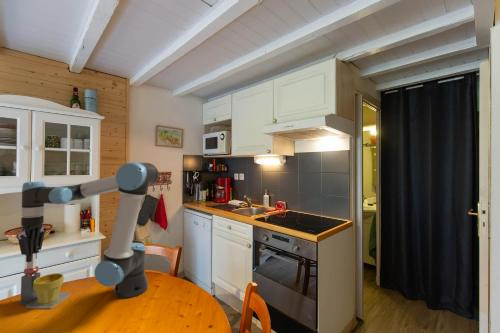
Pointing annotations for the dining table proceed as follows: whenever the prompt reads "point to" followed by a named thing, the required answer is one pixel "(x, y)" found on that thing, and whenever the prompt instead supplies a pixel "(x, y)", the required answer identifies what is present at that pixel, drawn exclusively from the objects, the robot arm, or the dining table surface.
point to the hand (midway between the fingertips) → (31, 268)
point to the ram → (31, 271)
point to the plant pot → (48, 287)
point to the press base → (31, 297)
